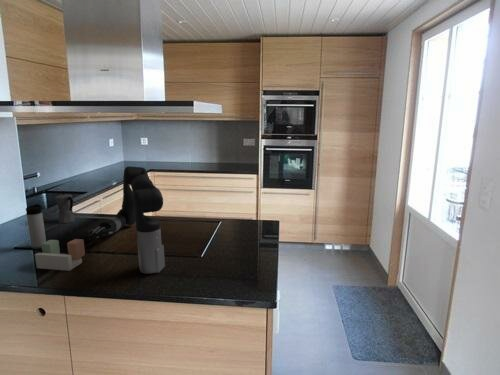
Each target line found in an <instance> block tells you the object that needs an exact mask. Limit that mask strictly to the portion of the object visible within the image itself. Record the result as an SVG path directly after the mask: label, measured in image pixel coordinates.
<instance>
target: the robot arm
mask: <svg viewBox="0 0 500 375" xmlns="http://www.w3.org/2000/svg"><path fill="white" fill-rule="evenodd" d="M122 178H123V180H122V182H123V183H122V193H123V194H122V196H123V197H122V203H121V209H119V211H118V212H117V213H116V215H114V216H112V217H108V219H106V220H103V221H102V222H100V223H99V225H98V226H96V227H95V228H94V229H93V228H91V227H89V228H88V235H87V239H88V241H93V240H94V239H98V238H104V237H109V236H112V235H114V234H115V233H116V232H118V231H119V230H120V229H122V228H123V227H124V226H125V225H127V226H133V225H134V224H135V225H136V226H135V227H136V228H135V229H136V242H137V256H138V267H139V271H140V273H143V274H147V275H148V274H157V273H160V272H161V271H162V270H163V269H164V268H165V267H166V261H165V247H164V244H162V233H161V232H162V230H161V222H160V220H159V219H157V218H155V217H149V216H146V215H145V214H148V213H153V212H155V213H156V212H159V211H160V210H162V208H163V207H164V198H163V194H162V192H161V190H160V188H158V187H157V186H155V185H154V183H153V182H152V179H150V177H149V174H148V171H147V169H146V168H144V167H139V166H126V167H125V168H124V171H123V177H122Z"/></svg>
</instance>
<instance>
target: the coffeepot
mask: <svg viewBox="0 0 500 375" xmlns="http://www.w3.org/2000/svg"><path fill="white" fill-rule="evenodd" d="M65 192H66V191H61V193H62V194H59V195H58V194H57V195H56V196H54V198H55V202H56V204H57V208H58V220H57V221H58V223H59V224H71V223H73V222H75V221H76V216H75V215H74V210H73V205H74V199H73V197H74V196H73V195H72V194H69V193H67V194H66V193H65Z"/></svg>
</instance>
